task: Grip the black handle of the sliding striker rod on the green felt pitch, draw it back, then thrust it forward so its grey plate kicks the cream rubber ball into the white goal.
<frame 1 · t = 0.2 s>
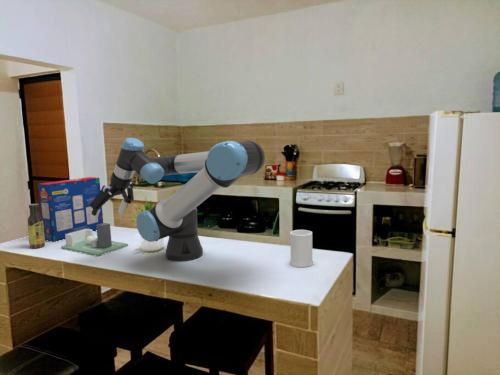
hand: (107, 217, 155), 16 cm above the counter, tool tilted 30°, fingers open, 13 cm apart
sauce bottle: (38, 247, 172), on the counter
ball: (90, 240, 169), point 3 cm above the counter, touching pitch
striker: (101, 235, 165), point 6 cm above the counter, slide at 2.0 cm
pasta box: (75, 234, 193), on the counter
pitch: (94, 247, 168), on the counter
mug: (303, 262, 141), on the counter
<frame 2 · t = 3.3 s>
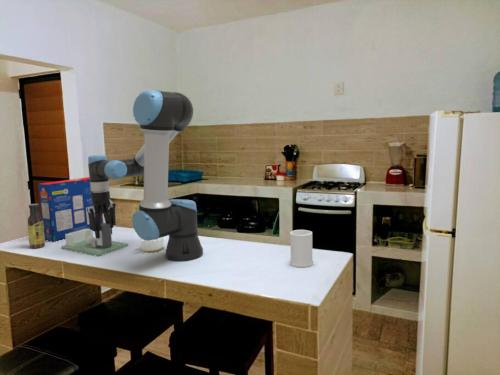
hand: (104, 243, 165), 3 cm above the counter, tool pointing down, fingers closed on striker, 4 cm apart
striker: (101, 235, 165), point 6 cm above the counter, slide at 2.0 cm, touching gripper
everything else where it was.
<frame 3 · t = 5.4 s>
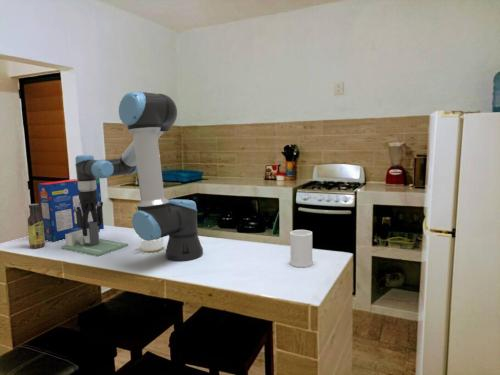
hand: (92, 241, 169), 3 cm above the counter, tool pointing down, fingers closed on striker, 4 cm apart
ball: (81, 238, 173), point 3 cm above the counter, tilted 180°, touching pitch
striker: (89, 233, 169), point 6 cm above the counter, slide at 10.5 cm, touching gripper
everything else where it was.
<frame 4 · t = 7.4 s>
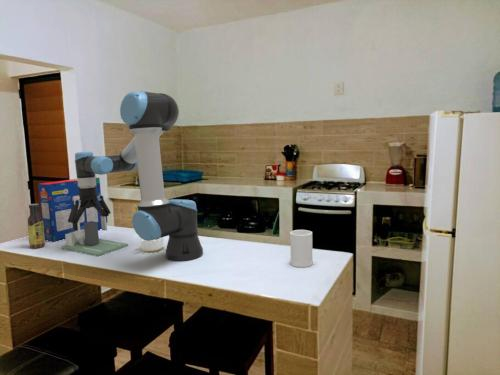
hand: (91, 233, 168), 6 cm above the counter, tool pointing down, fingers open, 13 cm apart
ball: (81, 238, 172), point 3 cm above the counter, tilted 173°, touching pitch
striker: (89, 232, 169), point 6 cm above the counter, slide at 10.5 cm
everything else where it was.
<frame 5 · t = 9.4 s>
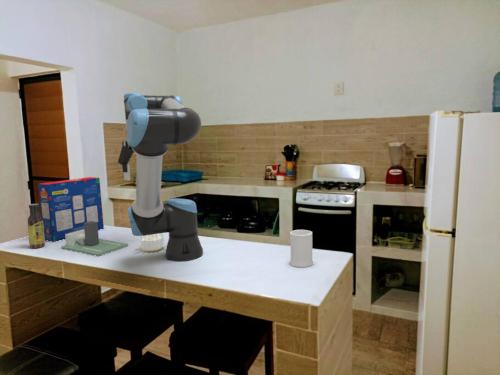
hand: (138, 178, 165), 30 cm above the counter, tool pointing down, fingers open, 13 cm apart
ball: (81, 238, 173), point 3 cm above the counter, tilted 180°, touching pitch
everything else where it was.
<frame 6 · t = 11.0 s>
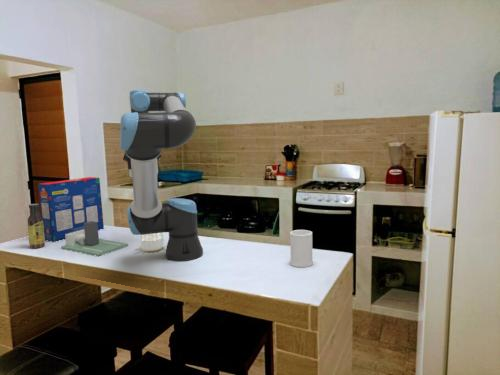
hand: (144, 175, 166), 32 cm above the counter, tool pointing down, fingers open, 13 cm apart
ball: (80, 238, 173), point 3 cm above the counter, tilted 174°, touching pitch
everything else where it was.
at the end: ball inside the target area on the pitch (0.3 cm from its centre), point 3.0 cm above the pitch's base; striker slide at 10.5 cm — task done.
